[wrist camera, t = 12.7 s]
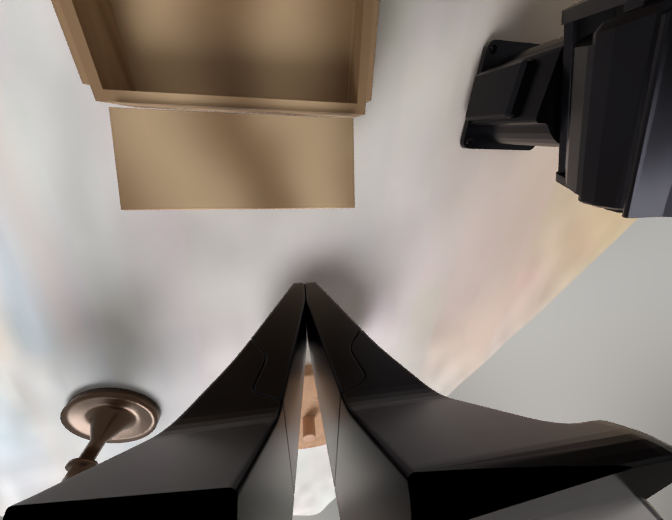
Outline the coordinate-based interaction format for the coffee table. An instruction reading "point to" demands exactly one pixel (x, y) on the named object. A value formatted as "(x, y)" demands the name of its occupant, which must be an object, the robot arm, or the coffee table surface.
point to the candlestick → (107, 421)
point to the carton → (226, 53)
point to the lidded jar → (310, 411)
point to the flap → (231, 160)
